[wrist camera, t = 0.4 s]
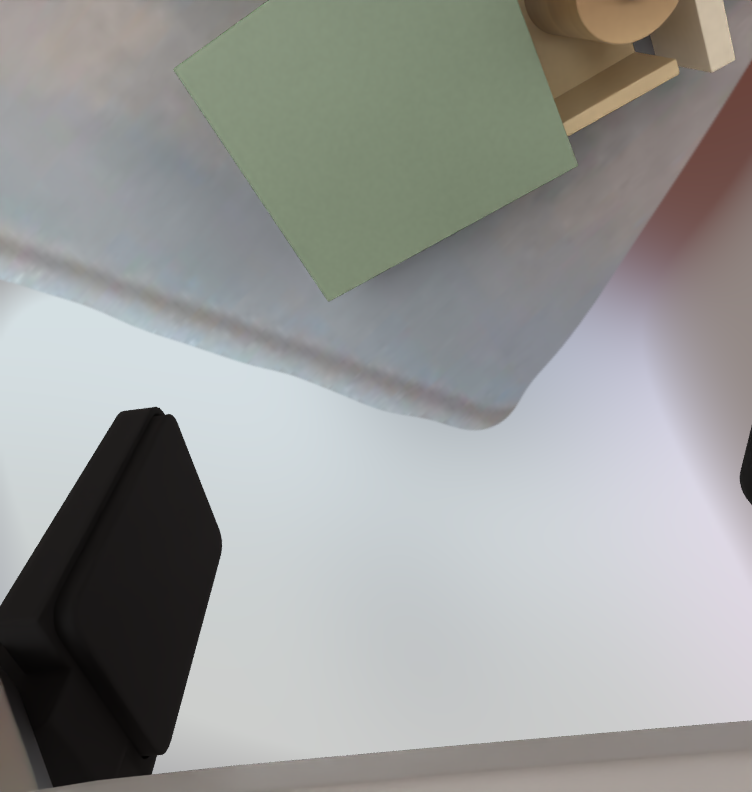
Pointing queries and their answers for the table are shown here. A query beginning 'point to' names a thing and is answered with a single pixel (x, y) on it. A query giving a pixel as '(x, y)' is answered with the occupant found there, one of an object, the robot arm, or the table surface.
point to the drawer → (629, 61)
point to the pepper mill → (600, 18)
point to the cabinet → (379, 122)
